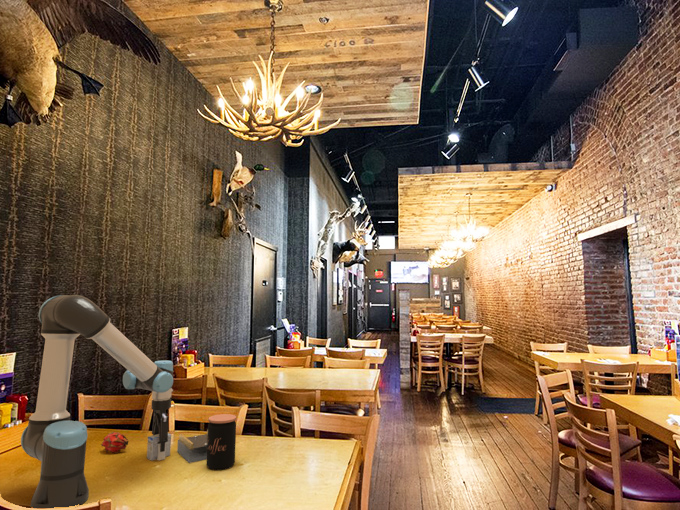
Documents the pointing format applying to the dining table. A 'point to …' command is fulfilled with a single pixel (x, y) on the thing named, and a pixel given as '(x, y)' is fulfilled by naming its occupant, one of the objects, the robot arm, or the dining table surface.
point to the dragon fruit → (115, 442)
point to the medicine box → (156, 447)
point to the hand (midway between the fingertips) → (158, 456)
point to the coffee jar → (221, 441)
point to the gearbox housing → (193, 447)
